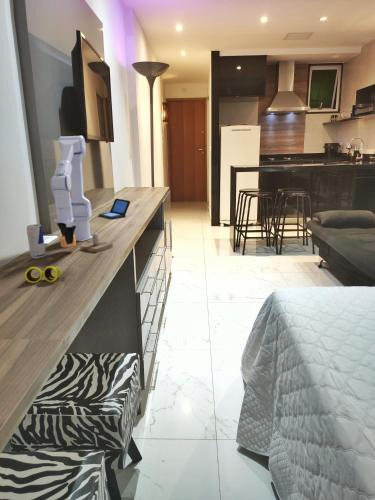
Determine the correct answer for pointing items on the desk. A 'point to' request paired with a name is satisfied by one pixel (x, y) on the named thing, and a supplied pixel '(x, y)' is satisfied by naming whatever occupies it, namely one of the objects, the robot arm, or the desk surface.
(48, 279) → the opera glasses
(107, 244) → the post stand
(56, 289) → the desk surface
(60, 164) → the robot arm
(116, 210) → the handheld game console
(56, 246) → the desk surface
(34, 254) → the energy drink
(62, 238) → the ring
